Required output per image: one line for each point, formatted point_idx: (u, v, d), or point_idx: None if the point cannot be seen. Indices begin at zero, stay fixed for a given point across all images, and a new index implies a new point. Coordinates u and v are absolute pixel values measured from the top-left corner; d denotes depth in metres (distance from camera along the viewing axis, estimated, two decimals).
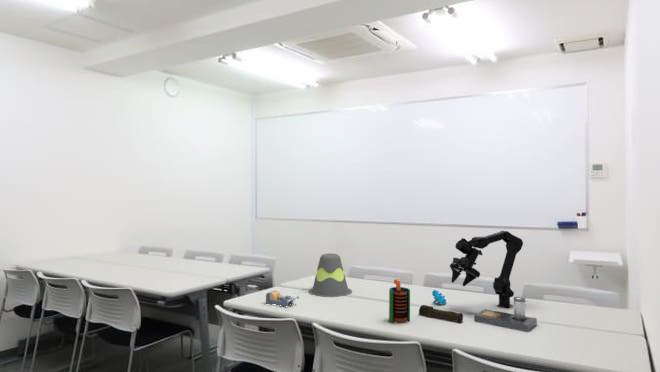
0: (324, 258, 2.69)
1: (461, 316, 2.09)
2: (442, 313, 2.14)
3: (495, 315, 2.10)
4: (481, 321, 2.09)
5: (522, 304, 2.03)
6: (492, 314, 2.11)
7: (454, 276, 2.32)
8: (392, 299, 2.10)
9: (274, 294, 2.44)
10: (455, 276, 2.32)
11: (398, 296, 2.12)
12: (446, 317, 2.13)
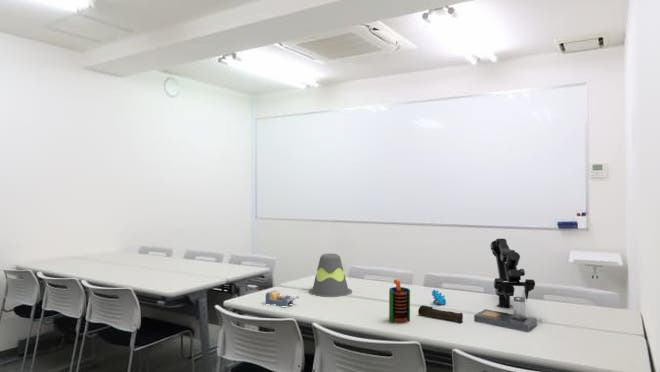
0: (324, 258, 2.69)
1: (461, 316, 2.09)
2: (442, 313, 2.14)
3: (495, 315, 2.10)
4: (481, 321, 2.09)
5: (522, 304, 2.03)
6: (492, 314, 2.11)
7: None
8: (392, 299, 2.10)
9: (274, 294, 2.45)
10: None
11: (398, 296, 2.12)
12: (446, 317, 2.12)
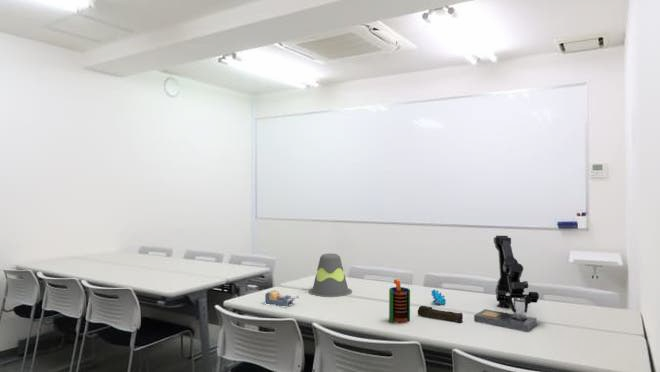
0: (324, 258, 2.69)
1: (461, 316, 2.10)
2: (442, 313, 2.14)
3: (495, 315, 2.10)
4: (481, 321, 2.09)
5: (522, 304, 2.03)
6: (492, 314, 2.11)
7: None
8: (392, 299, 2.10)
9: (274, 294, 2.45)
10: None
11: (398, 296, 2.12)
12: (446, 318, 2.12)
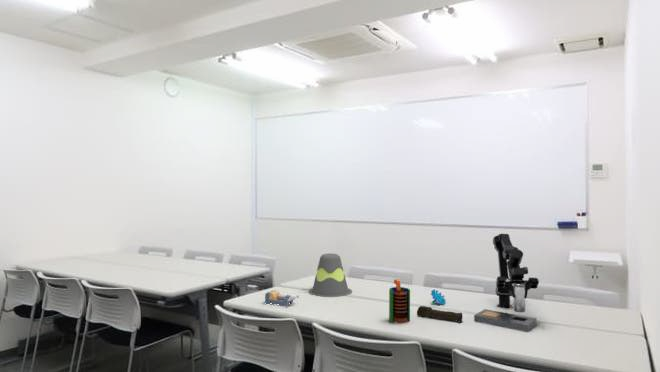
0: (324, 258, 2.69)
1: (461, 316, 2.10)
2: (442, 313, 2.13)
3: (495, 315, 2.10)
4: (481, 321, 2.09)
5: (522, 289, 2.03)
6: (492, 314, 2.11)
7: None
8: (392, 299, 2.10)
9: (273, 294, 2.45)
10: None
11: (398, 296, 2.12)
12: (446, 318, 2.12)
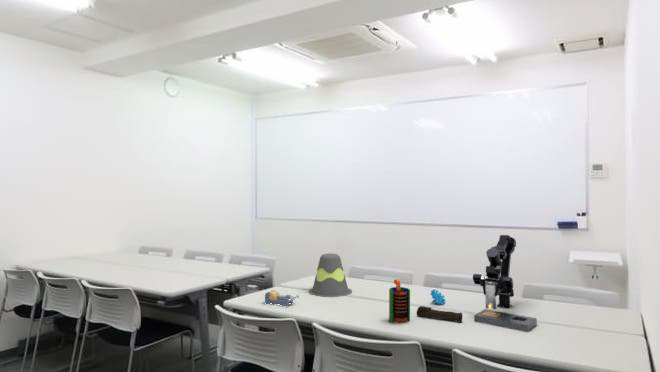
0: (324, 258, 2.69)
1: (461, 316, 2.10)
2: (442, 313, 2.13)
3: (495, 315, 2.10)
4: (481, 321, 2.09)
5: (491, 287, 2.10)
6: (492, 314, 2.11)
7: None
8: (392, 299, 2.10)
9: (273, 294, 2.45)
10: None
11: (398, 296, 2.12)
12: (446, 318, 2.12)
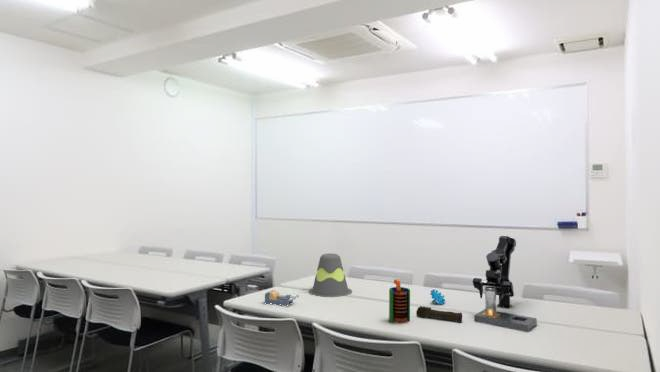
0: (324, 258, 2.69)
1: (461, 316, 2.10)
2: (442, 314, 2.13)
3: (495, 315, 2.10)
4: (481, 321, 2.09)
5: (491, 293, 2.10)
6: None
7: (481, 292, 2.15)
8: (392, 299, 2.10)
9: (273, 294, 2.45)
10: (482, 292, 2.16)
11: (398, 296, 2.12)
12: (446, 318, 2.12)
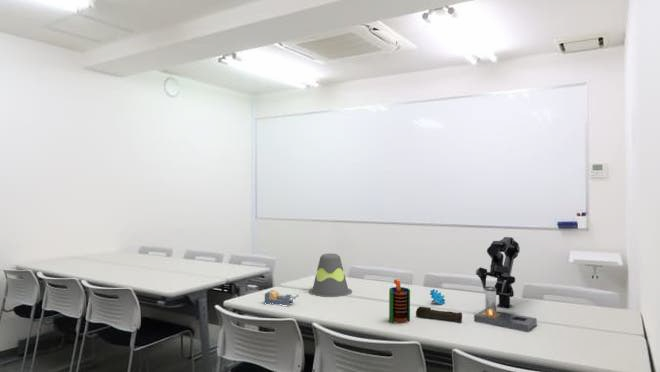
0: (324, 258, 2.69)
1: (461, 316, 2.10)
2: (441, 314, 2.13)
3: (495, 315, 2.10)
4: (481, 321, 2.09)
5: (491, 293, 2.10)
6: None
7: None
8: (392, 299, 2.10)
9: (273, 293, 2.46)
10: None
11: (398, 296, 2.12)
12: (445, 318, 2.12)
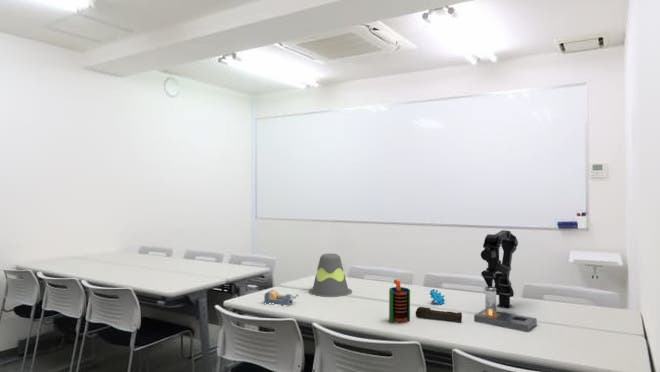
0: (324, 258, 2.69)
1: (461, 316, 2.10)
2: (441, 314, 2.13)
3: (495, 315, 2.10)
4: (481, 321, 2.09)
5: (491, 294, 2.10)
6: None
7: None
8: (392, 299, 2.10)
9: (273, 293, 2.46)
10: None
11: (398, 296, 2.12)
12: (445, 318, 2.12)
